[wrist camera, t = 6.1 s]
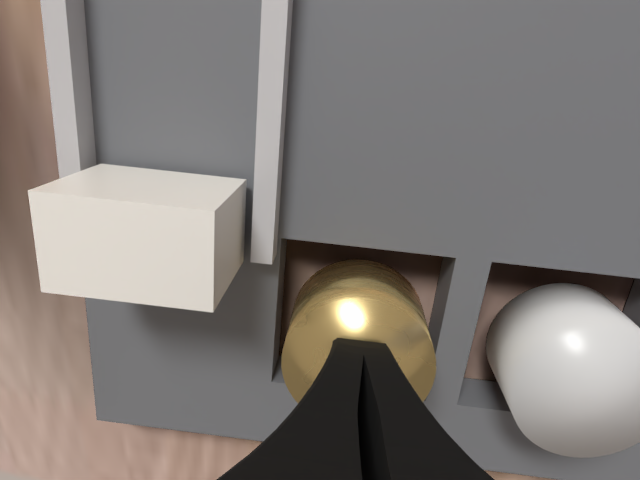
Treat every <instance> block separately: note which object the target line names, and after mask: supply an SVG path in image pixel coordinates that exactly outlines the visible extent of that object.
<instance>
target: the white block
mask: <svg viewBox="0 0 640 480" xmlns="http://www.w3.org/2000/svg"><path fill="white" fill-rule="evenodd" d="M246 181H247V179H239V178H230V177H220V176H211V175H202V174H193V173H184V172H174V171H165V170H156V169H147V168H138V167H128V166H119V165H110V164H99V165H96V166H93V167H90V168H88V169H85V170H82V171H79V172H77V173H74V174H71V175H68V176H66V177H63V178H60V179H58V180H55V181H52V182H49V183H47V184H44V185H41V186H38V187H36V188H33V189H30V190H28V196H29V204H30V211H31V219H32V226H33V234H34V241H35V249H36V257H37V264H38V272H39V279H40V287H41V292H45V293H53V294H62V295H70V296H78V297H87V298H95V299H104V300H112V301H120V302H129V303H137V304H145V305H154V306H162V307H171V308H179V309H187V310H196V311H204V312H212V313H213V312H214V310H215V309H216V307H217V305H218V304H219V302H220V300H221V299H222V297H223V295H224V293H225V292H226V290H227V288H228V287H229V285H230V283H231V282H232V280H233V278H234V276H235V275H236V273H237V271H238V270H239V268H240V266H241V265H242V263H243V260H244V234H245V207H246Z"/></svg>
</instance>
